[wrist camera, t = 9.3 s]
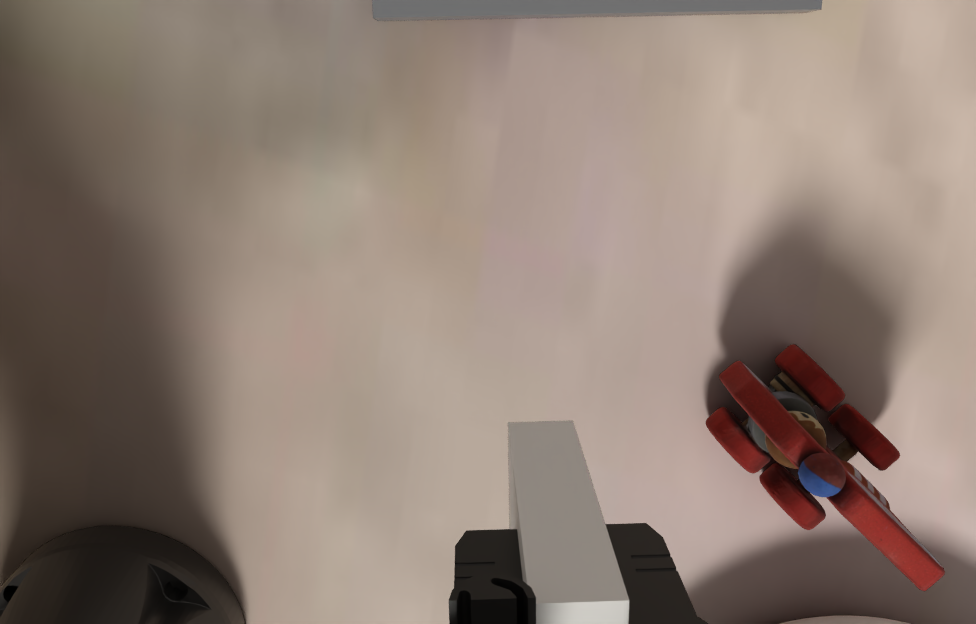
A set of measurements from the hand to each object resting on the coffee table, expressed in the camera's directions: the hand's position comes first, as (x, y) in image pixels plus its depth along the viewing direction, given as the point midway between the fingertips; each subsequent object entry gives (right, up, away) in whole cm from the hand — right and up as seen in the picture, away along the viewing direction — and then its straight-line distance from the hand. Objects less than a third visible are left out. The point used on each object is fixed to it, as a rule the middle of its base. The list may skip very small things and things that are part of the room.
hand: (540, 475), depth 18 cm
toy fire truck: (+17, -3, +29) cm, 34 cm away
